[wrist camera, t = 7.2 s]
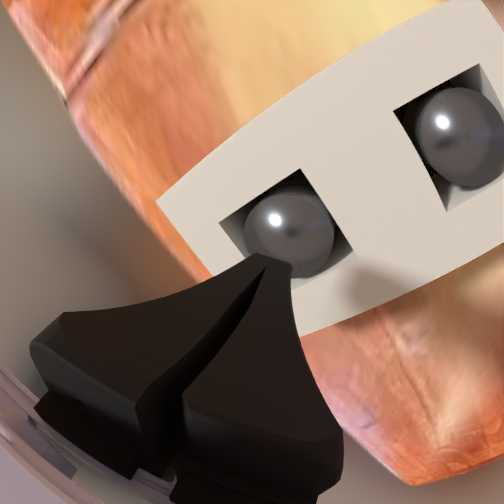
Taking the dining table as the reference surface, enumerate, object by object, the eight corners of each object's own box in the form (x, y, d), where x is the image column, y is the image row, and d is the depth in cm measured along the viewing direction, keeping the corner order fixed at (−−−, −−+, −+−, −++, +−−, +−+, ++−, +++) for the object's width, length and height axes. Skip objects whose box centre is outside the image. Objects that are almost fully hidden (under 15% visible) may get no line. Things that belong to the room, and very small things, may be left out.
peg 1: (351, 218, 17) (349, 255, 13) (294, 249, 19) (276, 290, 15) (311, 159, 16) (298, 177, 12) (255, 196, 18) (226, 224, 14)
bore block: (524, 172, 12) (568, 199, 8) (289, 296, 21) (271, 346, 17) (444, 17, 10) (474, -10, 6) (200, 176, 19) (155, 201, 15)
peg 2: (481, 145, 12) (518, 161, 8) (426, 177, 14) (449, 202, 10) (446, 79, 11) (477, 72, 7) (388, 111, 13) (403, 114, 9)
